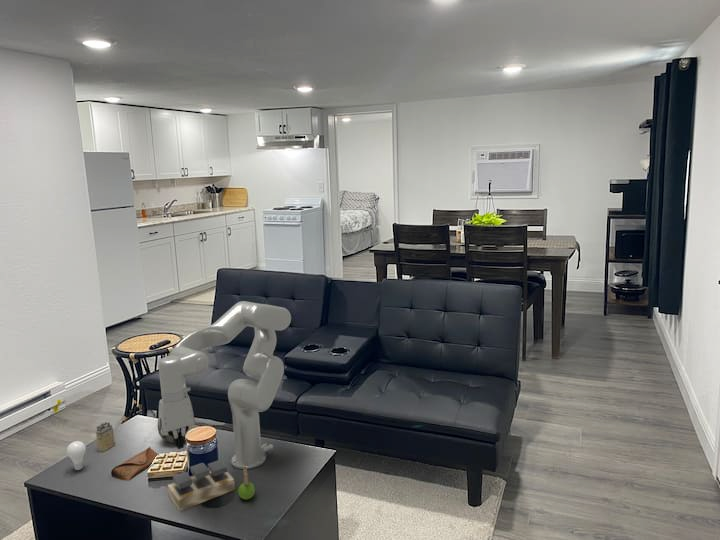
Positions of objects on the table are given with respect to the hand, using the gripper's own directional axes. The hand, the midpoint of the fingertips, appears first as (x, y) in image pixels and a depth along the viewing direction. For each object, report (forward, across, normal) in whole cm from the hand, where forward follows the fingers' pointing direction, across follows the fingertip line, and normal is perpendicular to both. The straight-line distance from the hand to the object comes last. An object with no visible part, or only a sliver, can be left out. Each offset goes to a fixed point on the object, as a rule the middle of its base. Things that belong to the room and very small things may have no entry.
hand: (179, 446), depth 182 cm
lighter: (+19, +13, -54) cm, 59 cm away
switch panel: (+19, -6, 0) cm, 20 cm away
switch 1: (+14, 0, 0) cm, 14 cm away
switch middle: (+13, -6, 0) cm, 14 cm away
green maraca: (+19, -16, +13) cm, 28 cm away
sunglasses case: (+20, +7, -31) cm, 37 cm away
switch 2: (+14, -12, 0) cm, 19 cm away
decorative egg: (+19, -10, -42) cm, 47 cm away
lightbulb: (+19, +25, -43) cm, 53 cm away
